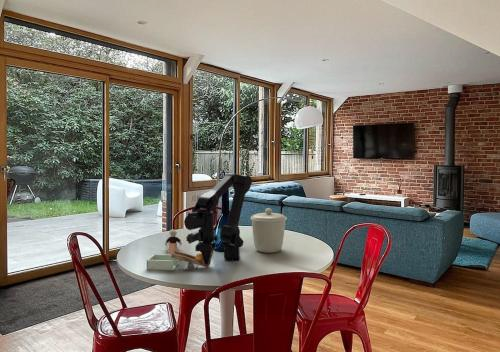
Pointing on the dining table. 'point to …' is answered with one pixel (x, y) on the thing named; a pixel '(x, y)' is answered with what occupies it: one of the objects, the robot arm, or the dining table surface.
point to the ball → (199, 257)
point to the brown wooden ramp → (190, 258)
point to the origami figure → (168, 244)
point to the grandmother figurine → (173, 242)
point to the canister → (268, 231)
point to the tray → (162, 262)
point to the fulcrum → (190, 266)
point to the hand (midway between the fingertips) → (207, 262)
